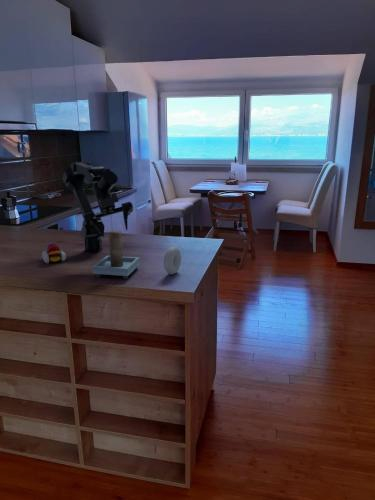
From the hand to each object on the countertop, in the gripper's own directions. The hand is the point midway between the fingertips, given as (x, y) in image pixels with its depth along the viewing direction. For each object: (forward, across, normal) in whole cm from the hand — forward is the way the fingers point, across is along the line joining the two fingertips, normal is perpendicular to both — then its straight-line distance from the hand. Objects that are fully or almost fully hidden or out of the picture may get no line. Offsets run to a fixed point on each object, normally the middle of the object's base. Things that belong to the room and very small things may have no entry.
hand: (115, 233), depth 147 cm
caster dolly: (+16, -4, -4) cm, 16 cm away
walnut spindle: (+13, -3, -5) cm, 14 cm away
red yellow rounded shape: (0, -26, +14) cm, 29 cm away
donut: (+23, +15, -8) cm, 28 cm away
